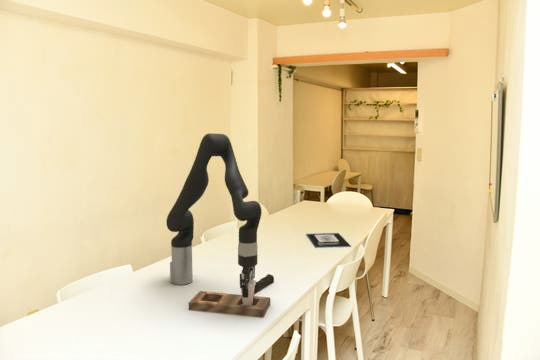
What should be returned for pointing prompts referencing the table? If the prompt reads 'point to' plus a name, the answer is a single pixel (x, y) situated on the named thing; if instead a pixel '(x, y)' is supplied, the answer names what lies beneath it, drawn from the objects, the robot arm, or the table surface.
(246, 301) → the smoothie
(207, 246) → the table surface
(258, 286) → the hand tool
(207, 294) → the wooden tray
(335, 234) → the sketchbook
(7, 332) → the table surface
